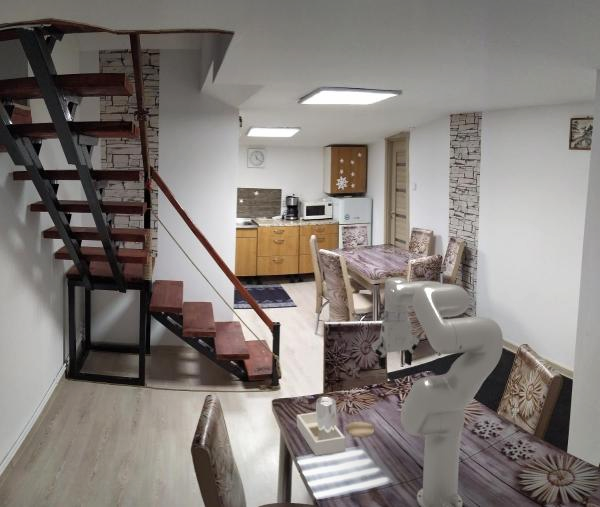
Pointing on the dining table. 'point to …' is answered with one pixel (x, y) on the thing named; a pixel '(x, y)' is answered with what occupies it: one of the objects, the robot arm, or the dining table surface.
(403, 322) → the robot arm
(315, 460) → the dining table surface
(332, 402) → the beer glass
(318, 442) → the cream divided tray
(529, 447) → the dining table surface
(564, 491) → the dining table surface
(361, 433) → the cork trivet
